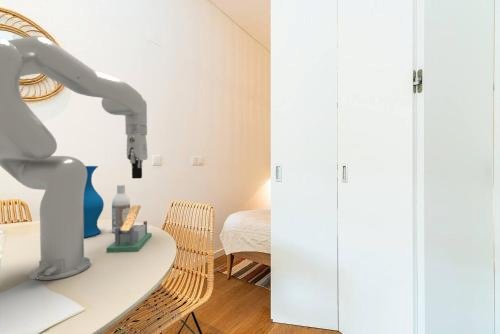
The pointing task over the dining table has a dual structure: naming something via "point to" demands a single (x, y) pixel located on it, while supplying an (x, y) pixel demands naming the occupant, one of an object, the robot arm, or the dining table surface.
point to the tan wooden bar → (130, 219)
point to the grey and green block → (130, 239)
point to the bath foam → (120, 208)
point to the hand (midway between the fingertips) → (137, 178)
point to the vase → (91, 205)
